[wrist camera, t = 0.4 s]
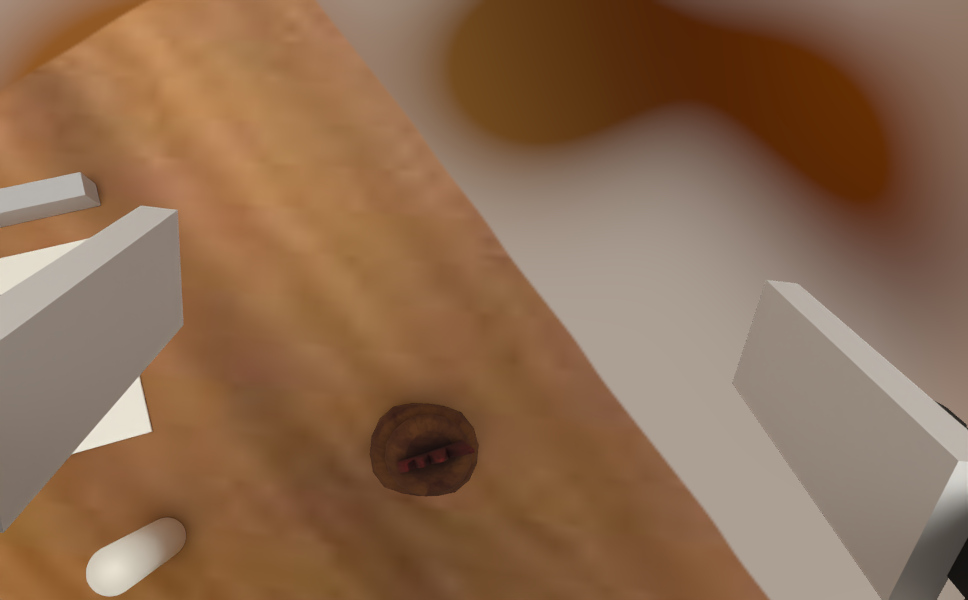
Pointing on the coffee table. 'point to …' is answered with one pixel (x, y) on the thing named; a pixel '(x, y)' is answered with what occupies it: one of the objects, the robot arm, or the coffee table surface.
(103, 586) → the post
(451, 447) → the wooden figurine
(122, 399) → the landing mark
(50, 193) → the wall
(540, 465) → the coffee table surface
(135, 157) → the coffee table surface
